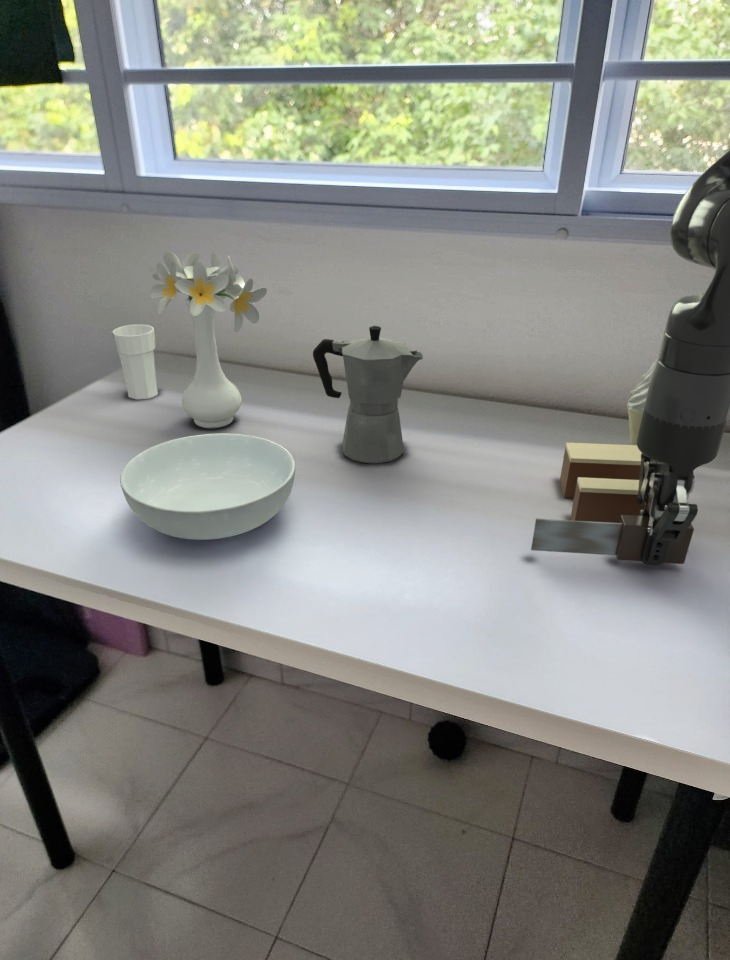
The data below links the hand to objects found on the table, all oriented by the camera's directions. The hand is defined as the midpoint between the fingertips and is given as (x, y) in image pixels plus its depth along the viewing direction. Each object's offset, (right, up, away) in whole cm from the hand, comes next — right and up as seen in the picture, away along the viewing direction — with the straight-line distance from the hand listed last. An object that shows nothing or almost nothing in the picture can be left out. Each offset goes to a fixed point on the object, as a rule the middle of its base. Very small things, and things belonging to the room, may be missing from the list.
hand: (648, 555), depth 82 cm
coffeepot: (-30, +15, +27) cm, 42 cm away
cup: (-67, +27, +47) cm, 86 cm away
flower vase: (-52, +20, +36) cm, 67 cm away
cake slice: (-1, +3, +8) cm, 9 cm away
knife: (-4, 0, +1) cm, 5 cm away
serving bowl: (-49, +4, +11) cm, 51 cm away
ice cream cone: (+7, +12, +22) cm, 26 cm away
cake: (0, +8, +15) cm, 17 cm away
